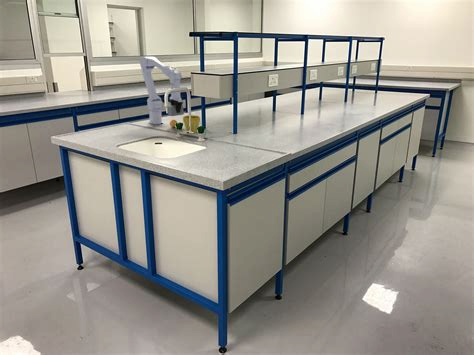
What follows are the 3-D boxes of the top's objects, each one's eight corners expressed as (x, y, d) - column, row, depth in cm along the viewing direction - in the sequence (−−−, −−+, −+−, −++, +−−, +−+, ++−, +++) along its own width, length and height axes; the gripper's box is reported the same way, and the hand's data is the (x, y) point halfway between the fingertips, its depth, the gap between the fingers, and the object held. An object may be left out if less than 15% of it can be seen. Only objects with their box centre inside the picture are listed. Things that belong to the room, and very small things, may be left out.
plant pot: (189, 134, 226) (188, 118, 223) (180, 131, 233) (179, 116, 230) (203, 132, 232) (203, 117, 229) (194, 129, 240) (194, 114, 236)
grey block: (168, 114, 246) (167, 105, 244) (180, 113, 250) (179, 104, 247) (171, 116, 241) (170, 107, 239) (183, 114, 245) (182, 105, 243)
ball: (177, 121, 249) (173, 128, 249) (171, 117, 247) (167, 123, 247) (179, 123, 245) (175, 129, 245) (173, 118, 243) (169, 125, 242)
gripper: (165, 89, 244) (166, 110, 249) (173, 92, 233) (174, 114, 237) (175, 89, 248) (176, 110, 252) (184, 91, 236) (185, 113, 240)
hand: (176, 111), depth 245 cm, fingers closed on grey block, 6 cm apart
